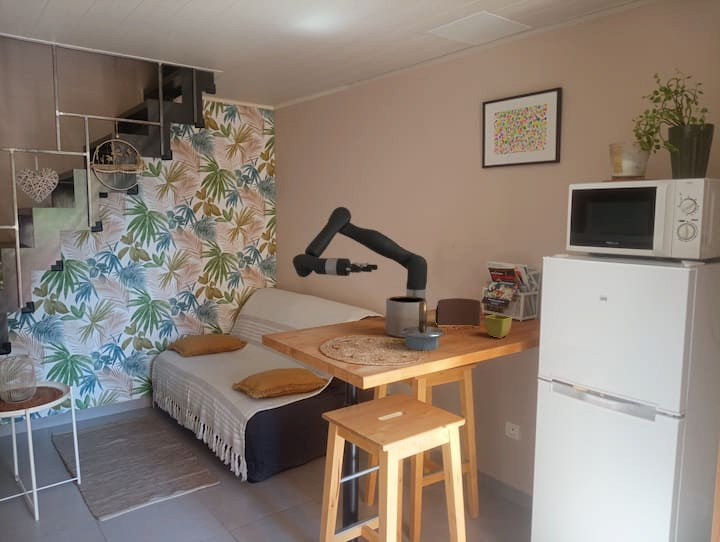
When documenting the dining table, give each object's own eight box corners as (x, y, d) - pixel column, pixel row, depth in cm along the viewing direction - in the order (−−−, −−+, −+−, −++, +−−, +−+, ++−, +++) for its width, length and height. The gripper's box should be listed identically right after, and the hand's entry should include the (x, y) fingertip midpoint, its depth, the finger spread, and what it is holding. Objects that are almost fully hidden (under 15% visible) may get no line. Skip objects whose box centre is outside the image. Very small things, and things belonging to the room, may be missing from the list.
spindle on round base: (431, 327, 229) (432, 297, 228) (451, 336, 213) (452, 303, 212) (394, 330, 223) (394, 299, 222) (412, 339, 207) (413, 306, 206)
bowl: (427, 341, 227) (428, 328, 226) (443, 348, 215) (443, 335, 215) (401, 344, 222) (401, 331, 221) (416, 351, 211) (416, 337, 210)
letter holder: (480, 329, 254) (481, 299, 252) (437, 328, 255) (437, 298, 253) (476, 324, 264) (477, 295, 262) (435, 323, 264) (435, 295, 263)
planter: (402, 340, 228) (402, 303, 226) (377, 332, 243) (378, 297, 241) (434, 335, 238) (435, 300, 236) (408, 328, 253) (409, 294, 251)
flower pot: (512, 337, 237) (512, 316, 236) (502, 340, 230) (503, 319, 229) (493, 334, 243) (494, 314, 242) (483, 337, 236) (484, 316, 235)
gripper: (332, 259, 226) (369, 260, 221) (343, 256, 240) (379, 258, 235) (332, 277, 227) (369, 279, 222) (343, 273, 241) (378, 275, 236)
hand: (374, 268), depth 229 cm, fingers open, 8 cm apart
